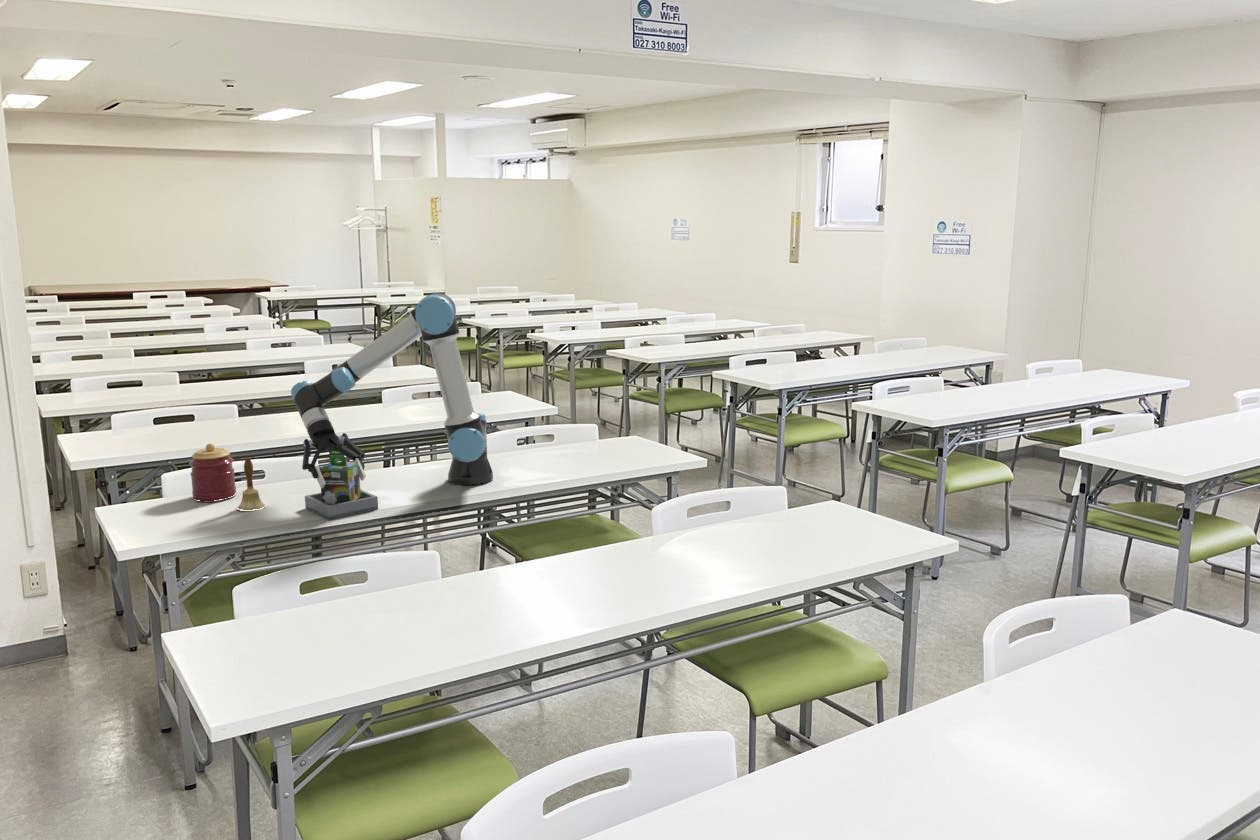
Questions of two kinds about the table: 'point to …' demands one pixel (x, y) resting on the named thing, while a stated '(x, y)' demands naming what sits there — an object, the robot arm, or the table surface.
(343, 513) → the tray
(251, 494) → the hand bell
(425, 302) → the robot arm
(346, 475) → the chalk box
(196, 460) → the canister
